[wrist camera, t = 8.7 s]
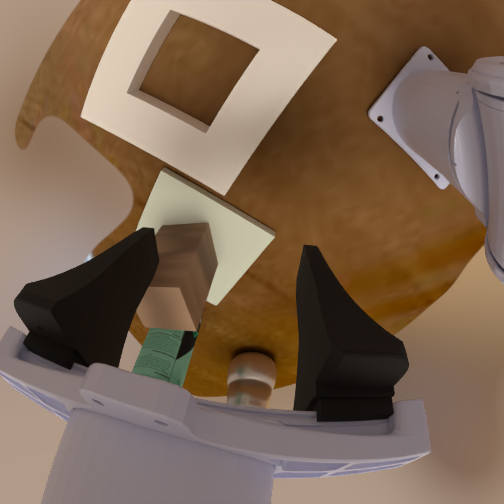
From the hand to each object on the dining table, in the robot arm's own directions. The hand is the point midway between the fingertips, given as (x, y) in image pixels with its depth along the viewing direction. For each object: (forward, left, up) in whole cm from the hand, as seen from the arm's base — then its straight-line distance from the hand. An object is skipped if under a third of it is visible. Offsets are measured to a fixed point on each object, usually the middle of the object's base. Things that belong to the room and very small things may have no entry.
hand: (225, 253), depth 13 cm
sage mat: (+1, +9, -10) cm, 14 cm away
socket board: (+8, -5, -10) cm, 14 cm away
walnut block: (+1, +9, -10) cm, 13 cm away
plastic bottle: (-14, +22, -11) cm, 28 cm away
